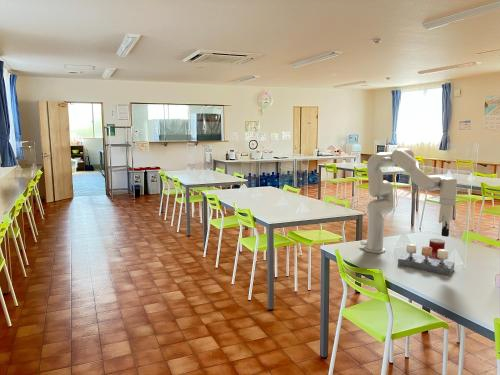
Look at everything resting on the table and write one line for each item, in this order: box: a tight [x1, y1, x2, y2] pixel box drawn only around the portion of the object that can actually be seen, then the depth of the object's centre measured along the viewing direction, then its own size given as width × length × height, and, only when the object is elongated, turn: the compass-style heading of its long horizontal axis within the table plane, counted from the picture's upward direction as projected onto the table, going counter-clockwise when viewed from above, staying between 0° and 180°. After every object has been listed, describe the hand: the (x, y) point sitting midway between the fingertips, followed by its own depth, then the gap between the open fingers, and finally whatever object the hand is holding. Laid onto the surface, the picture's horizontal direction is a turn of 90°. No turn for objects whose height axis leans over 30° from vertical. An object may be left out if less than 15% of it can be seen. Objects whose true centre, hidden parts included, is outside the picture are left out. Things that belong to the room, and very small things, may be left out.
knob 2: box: [437, 248, 449, 264], centre depth 218 cm, size 5×5×8 cm
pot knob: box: [421, 245, 432, 261], centre depth 223 cm, size 5×5×8 cm
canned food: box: [428, 238, 446, 260], centre depth 238 cm, size 8×8×11 cm
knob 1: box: [406, 243, 418, 258], centre depth 227 cm, size 5×5×8 cm
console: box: [397, 252, 455, 277], centre depth 224 cm, size 26×12×4 cm, turn 54°
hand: (445, 235), depth 216 cm, fingers closed
